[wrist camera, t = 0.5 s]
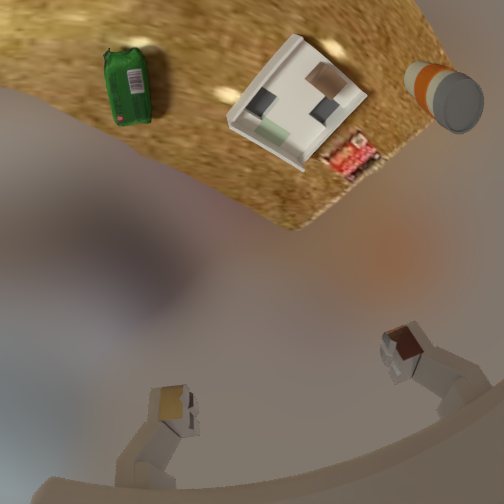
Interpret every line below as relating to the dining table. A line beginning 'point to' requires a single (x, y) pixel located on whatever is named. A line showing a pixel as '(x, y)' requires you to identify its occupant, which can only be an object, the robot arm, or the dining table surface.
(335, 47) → the dining table surface
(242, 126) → the box
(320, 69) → the walnut cube
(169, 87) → the dining table surface
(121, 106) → the snack package
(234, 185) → the dining table surface
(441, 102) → the reusable coffee cup
